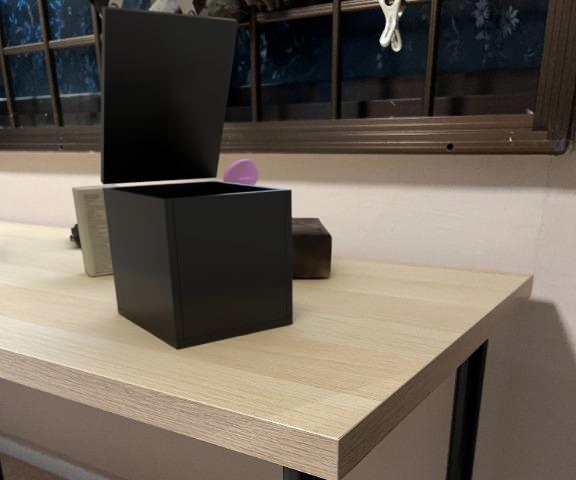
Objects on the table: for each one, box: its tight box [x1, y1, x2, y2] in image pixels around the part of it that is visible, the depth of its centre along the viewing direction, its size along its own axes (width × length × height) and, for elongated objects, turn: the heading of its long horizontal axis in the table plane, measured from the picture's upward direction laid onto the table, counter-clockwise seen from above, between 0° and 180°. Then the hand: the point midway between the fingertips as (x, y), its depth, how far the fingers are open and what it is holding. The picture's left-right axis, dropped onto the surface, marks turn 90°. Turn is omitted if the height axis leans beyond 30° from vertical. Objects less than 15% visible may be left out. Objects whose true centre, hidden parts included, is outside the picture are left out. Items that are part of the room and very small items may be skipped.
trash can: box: [103, 180, 294, 350], centre depth 65 cm, size 16×14×14 cm
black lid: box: [100, 6, 239, 185], centre depth 64 cm, size 16×14×6 cm
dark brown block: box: [292, 217, 333, 279], centre depth 91 cm, size 8×19×7 cm, turn 3°
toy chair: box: [222, 158, 259, 185], centre depth 99 cm, size 8×9×15 cm
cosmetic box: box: [71, 184, 120, 277], centre depth 88 cm, size 6×4×12 cm
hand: (153, 63), depth 63 cm, fingers closed on black lid, 6 cm apart
